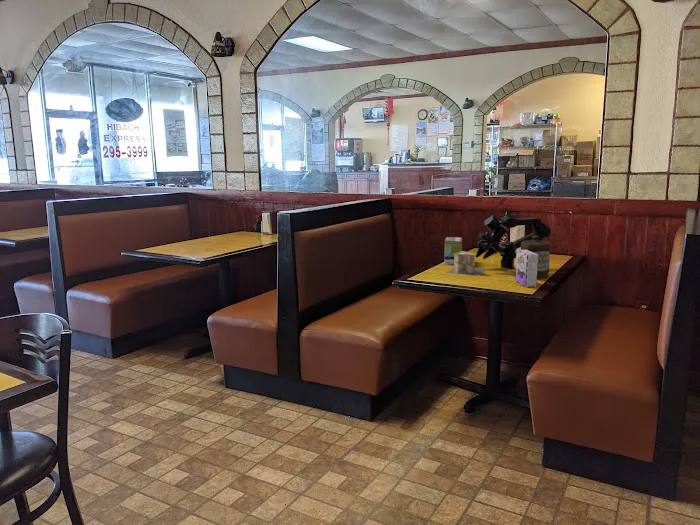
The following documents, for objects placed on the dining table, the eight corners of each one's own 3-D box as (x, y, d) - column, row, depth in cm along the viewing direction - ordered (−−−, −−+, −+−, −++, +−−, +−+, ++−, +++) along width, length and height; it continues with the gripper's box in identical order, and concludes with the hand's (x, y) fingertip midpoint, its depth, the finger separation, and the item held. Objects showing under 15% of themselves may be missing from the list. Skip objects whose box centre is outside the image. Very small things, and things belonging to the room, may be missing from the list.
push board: (487, 270, 311) (487, 267, 310) (476, 276, 295) (476, 273, 295) (458, 267, 320) (458, 264, 319) (446, 273, 304) (446, 270, 304)
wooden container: (528, 280, 286) (530, 237, 281) (514, 274, 300) (515, 233, 296) (554, 278, 289) (556, 236, 285) (538, 272, 303) (540, 232, 299)
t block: (463, 268, 314) (463, 251, 312) (474, 272, 302) (474, 254, 300) (450, 269, 311) (450, 252, 309) (461, 274, 300) (461, 255, 298)
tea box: (461, 265, 325) (461, 240, 322) (444, 265, 327) (444, 240, 324) (461, 260, 339) (462, 236, 336) (444, 260, 341) (445, 236, 338)
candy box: (514, 281, 284) (515, 249, 281) (525, 280, 284) (527, 249, 281) (525, 287, 270) (526, 254, 267) (537, 287, 271) (538, 254, 268)
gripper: (479, 226, 317) (462, 247, 316) (494, 227, 299) (476, 250, 298) (492, 238, 319) (476, 259, 318) (508, 240, 301) (491, 263, 300)
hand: (479, 257), depth 309 cm, fingers open, 9 cm apart
